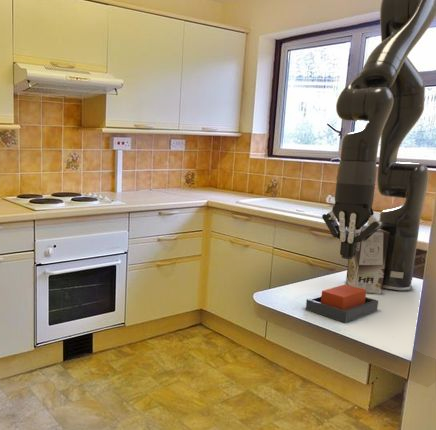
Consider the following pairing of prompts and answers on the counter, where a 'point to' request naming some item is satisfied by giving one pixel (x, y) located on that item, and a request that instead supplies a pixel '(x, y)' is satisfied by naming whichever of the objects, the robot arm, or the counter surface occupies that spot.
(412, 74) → the robot arm
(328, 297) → the orange-red rectangular block
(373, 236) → the coffee box
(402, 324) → the counter surface
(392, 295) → the counter surface
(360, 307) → the tray
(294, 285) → the counter surface
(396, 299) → the counter surface
